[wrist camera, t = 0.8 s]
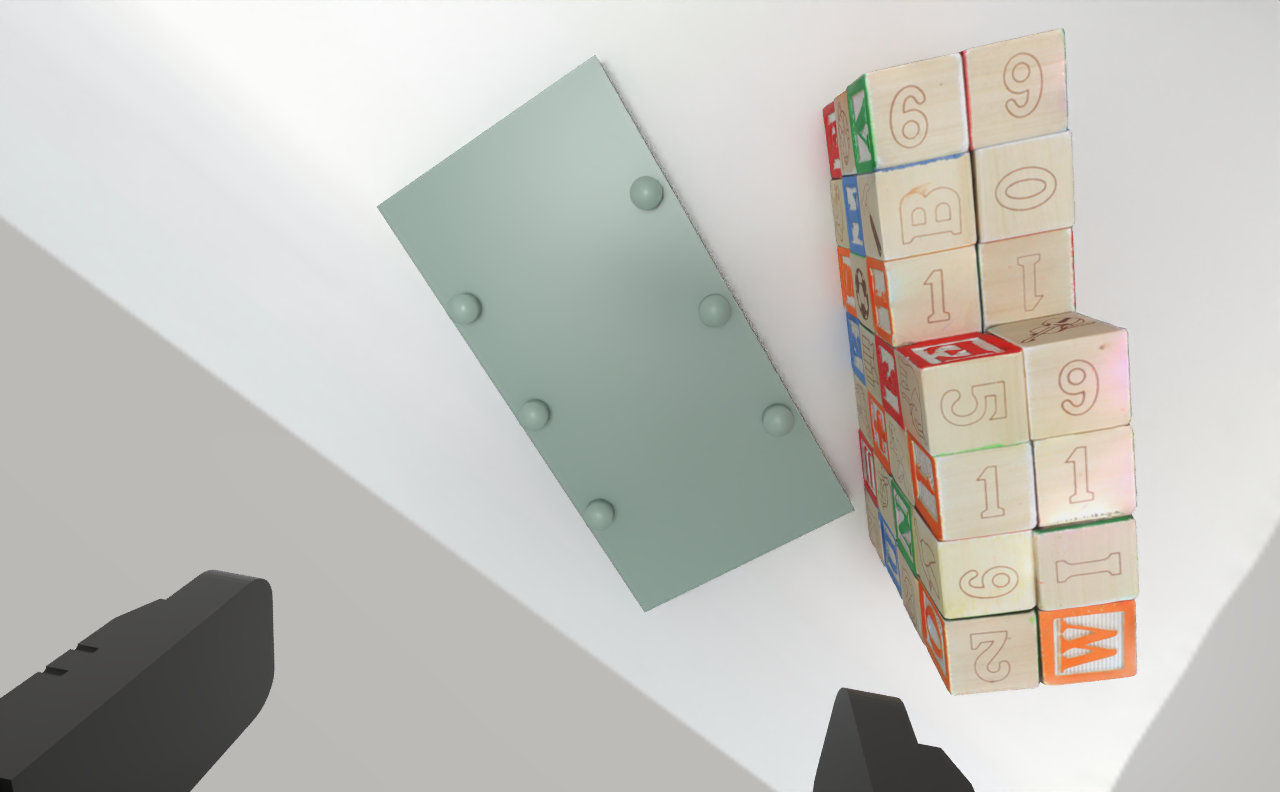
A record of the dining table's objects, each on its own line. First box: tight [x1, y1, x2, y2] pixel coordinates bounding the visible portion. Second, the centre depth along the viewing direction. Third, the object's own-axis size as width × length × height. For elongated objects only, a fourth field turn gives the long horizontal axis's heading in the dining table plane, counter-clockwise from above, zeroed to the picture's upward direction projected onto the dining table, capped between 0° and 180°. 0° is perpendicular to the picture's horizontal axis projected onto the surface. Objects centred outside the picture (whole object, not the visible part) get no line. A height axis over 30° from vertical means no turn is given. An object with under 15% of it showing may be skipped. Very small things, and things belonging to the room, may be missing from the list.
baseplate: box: [377, 55, 854, 612], centre depth 33 cm, size 12×24×2 cm, turn 31°
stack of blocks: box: [823, 28, 1139, 695], centre depth 27 cm, size 21×6×12 cm, turn 11°
